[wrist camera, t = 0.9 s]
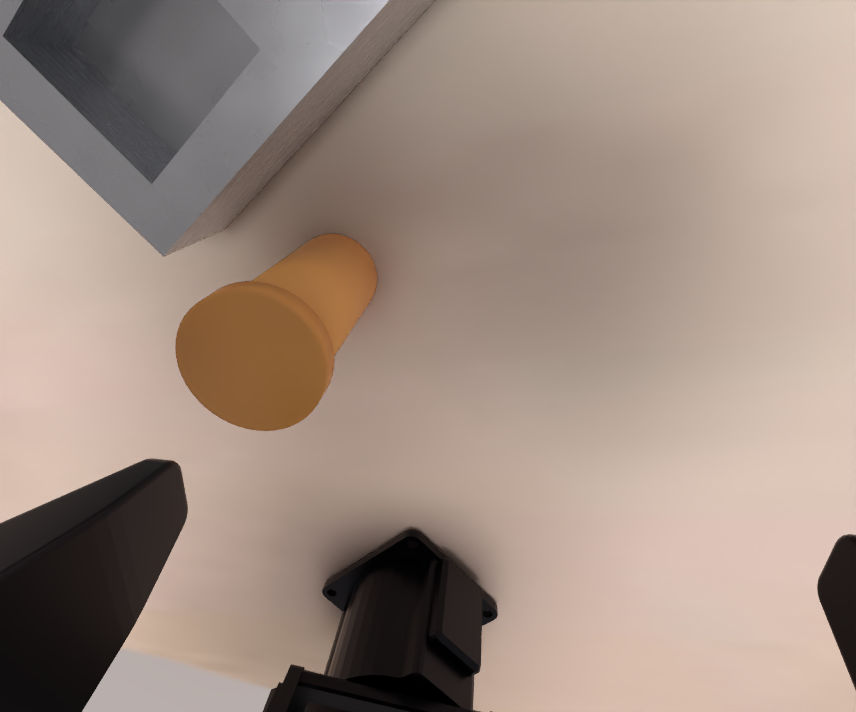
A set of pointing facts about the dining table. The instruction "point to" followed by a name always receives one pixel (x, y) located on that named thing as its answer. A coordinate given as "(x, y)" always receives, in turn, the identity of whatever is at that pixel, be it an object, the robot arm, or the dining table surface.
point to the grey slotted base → (186, 94)
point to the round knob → (276, 334)
